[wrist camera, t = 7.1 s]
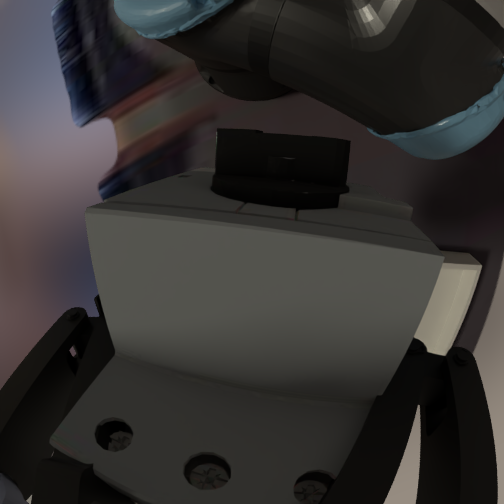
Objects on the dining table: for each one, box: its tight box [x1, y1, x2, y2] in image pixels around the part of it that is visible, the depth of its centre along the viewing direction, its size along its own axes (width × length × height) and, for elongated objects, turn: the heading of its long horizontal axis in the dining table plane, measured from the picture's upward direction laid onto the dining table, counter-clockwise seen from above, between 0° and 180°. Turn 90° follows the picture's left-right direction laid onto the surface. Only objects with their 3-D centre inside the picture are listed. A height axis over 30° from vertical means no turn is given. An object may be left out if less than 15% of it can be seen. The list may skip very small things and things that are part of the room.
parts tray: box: [414, 251, 482, 356], centre depth 37 cm, size 26×22×4 cm
